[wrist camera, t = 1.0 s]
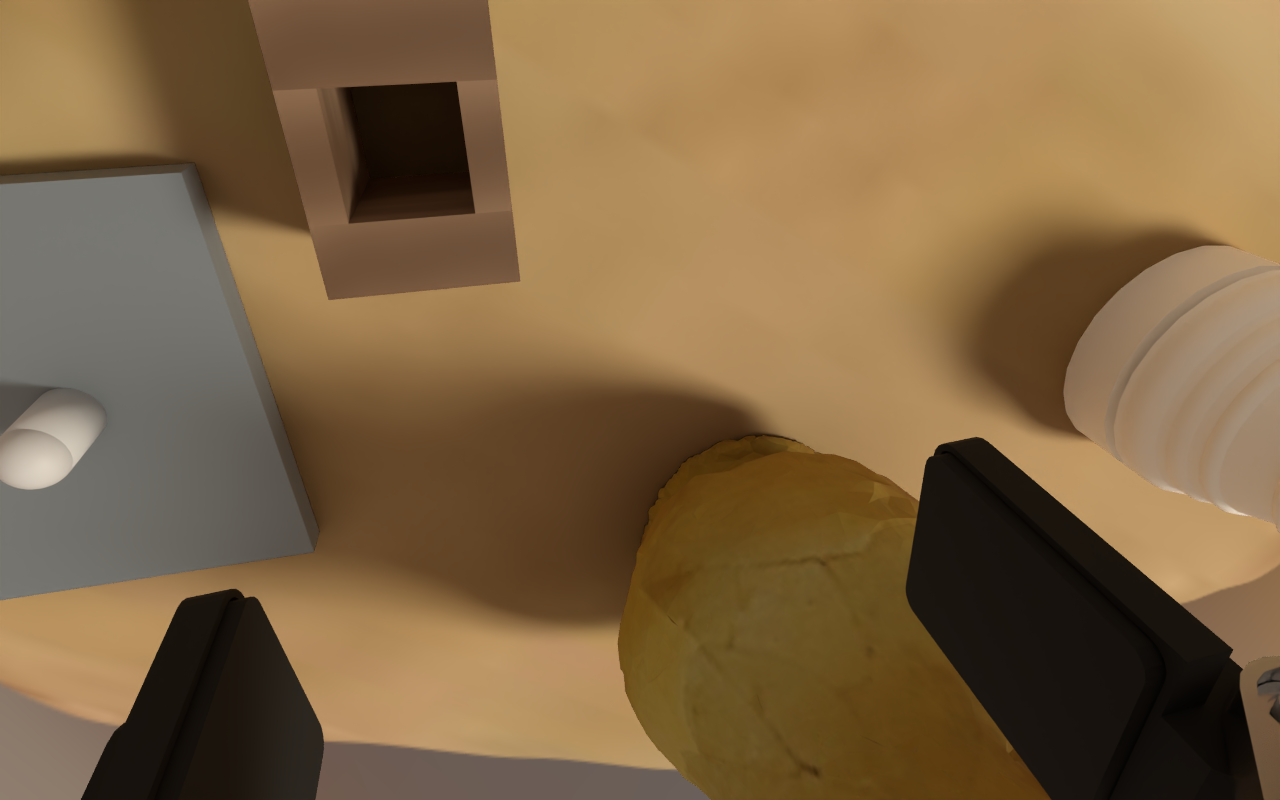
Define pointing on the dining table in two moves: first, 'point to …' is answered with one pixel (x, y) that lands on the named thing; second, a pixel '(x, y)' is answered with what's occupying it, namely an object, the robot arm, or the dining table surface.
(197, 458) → the base plate
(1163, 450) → the honey pot
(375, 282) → the block
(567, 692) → the dining table surface
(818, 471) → the pitcher
